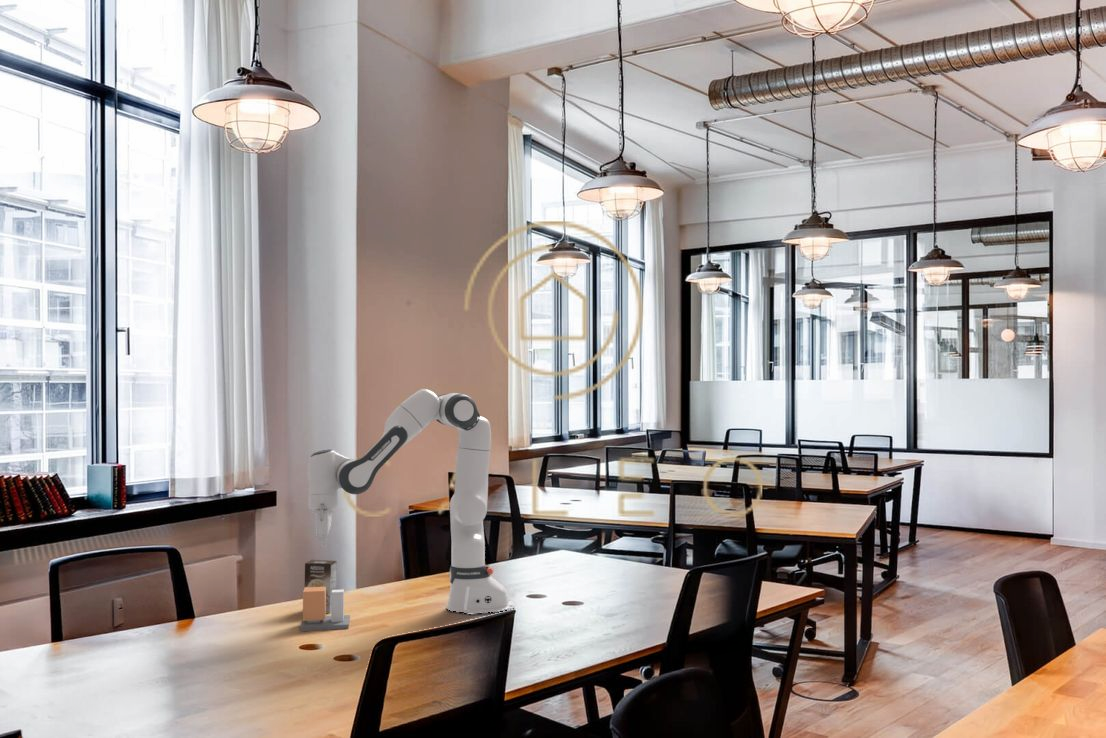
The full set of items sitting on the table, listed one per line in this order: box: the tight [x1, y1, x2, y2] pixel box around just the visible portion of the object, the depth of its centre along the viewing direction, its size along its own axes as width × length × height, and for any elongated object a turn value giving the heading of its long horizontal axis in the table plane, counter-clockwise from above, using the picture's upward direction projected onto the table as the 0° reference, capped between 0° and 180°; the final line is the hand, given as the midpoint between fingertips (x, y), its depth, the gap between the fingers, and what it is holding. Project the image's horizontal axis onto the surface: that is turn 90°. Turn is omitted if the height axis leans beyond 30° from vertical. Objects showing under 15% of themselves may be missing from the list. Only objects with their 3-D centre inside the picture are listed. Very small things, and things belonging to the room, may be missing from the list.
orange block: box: [302, 586, 327, 622], centre depth 276 cm, size 6×6×9 cm
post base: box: [300, 588, 351, 632], centre depth 276 cm, size 14×12×10 cm
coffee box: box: [304, 559, 338, 614], centre depth 294 cm, size 9×6×16 cm
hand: (323, 546), depth 279 cm, fingers closed
